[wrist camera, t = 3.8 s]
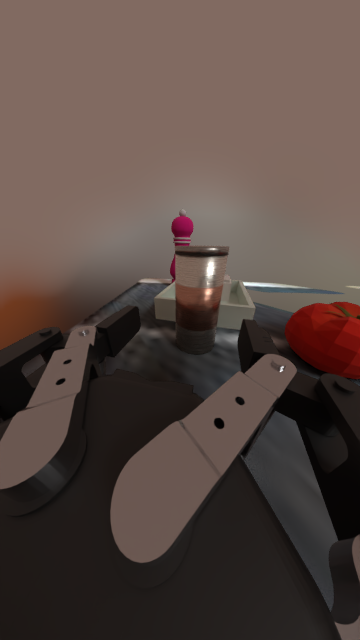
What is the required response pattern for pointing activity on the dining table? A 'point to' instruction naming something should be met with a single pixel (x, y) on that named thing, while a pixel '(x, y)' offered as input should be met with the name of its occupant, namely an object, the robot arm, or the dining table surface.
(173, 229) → the pepper mill
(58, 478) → the robot arm
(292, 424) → the dining table surface
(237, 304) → the tote
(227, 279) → the off-white tapered piece
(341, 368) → the tomato
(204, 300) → the clear lidded jar
